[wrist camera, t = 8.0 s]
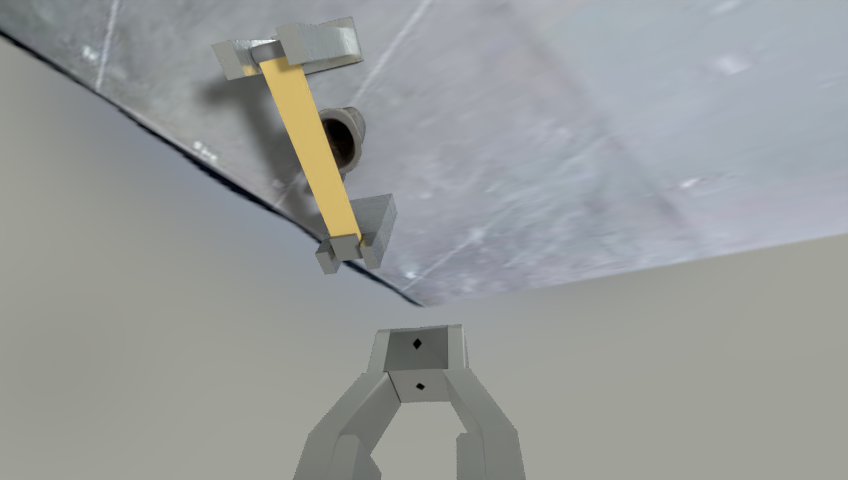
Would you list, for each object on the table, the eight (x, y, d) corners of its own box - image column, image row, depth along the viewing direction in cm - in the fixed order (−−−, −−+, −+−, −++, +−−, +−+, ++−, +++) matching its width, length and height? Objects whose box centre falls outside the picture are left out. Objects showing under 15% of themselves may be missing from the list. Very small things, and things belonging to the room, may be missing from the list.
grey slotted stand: (275, 37, 33) (193, 35, 22) (352, 16, 32) (303, 5, 21) (291, 77, 35) (222, 93, 25) (363, 60, 34) (324, 69, 23)
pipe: (314, 178, 42) (289, 203, 36) (336, 85, 36) (310, 95, 29) (355, 194, 43) (339, 222, 37) (384, 107, 37) (370, 122, 30)
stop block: (346, 201, 44) (313, 253, 33) (392, 194, 43) (373, 246, 32) (352, 219, 46) (323, 274, 35) (397, 212, 44) (381, 267, 34)
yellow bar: (257, 47, 25) (245, 46, 24) (294, 37, 25) (284, 36, 23) (341, 252, 36) (336, 261, 35) (368, 249, 36) (364, 258, 34)
